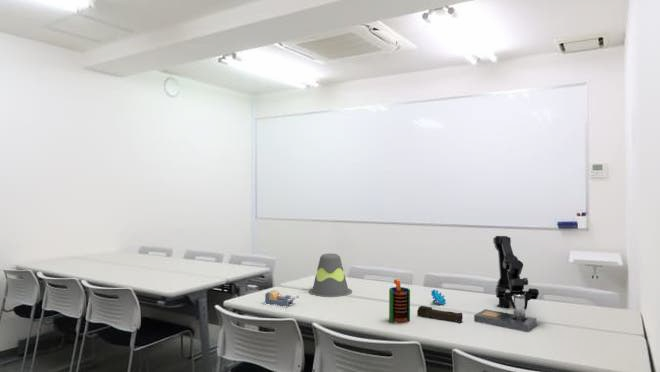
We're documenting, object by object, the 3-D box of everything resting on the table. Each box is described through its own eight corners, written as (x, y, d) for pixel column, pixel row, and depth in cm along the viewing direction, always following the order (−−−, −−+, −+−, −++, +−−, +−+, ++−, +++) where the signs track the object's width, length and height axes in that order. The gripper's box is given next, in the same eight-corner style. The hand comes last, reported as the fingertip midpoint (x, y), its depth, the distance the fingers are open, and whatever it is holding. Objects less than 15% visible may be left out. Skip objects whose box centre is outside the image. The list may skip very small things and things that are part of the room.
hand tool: (463, 321, 212) (463, 310, 212) (460, 324, 208) (460, 312, 208) (419, 314, 224) (419, 303, 224) (416, 316, 220) (416, 305, 220)
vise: (263, 304, 245) (263, 292, 245) (273, 300, 254) (273, 289, 254) (289, 308, 236) (289, 296, 236) (299, 304, 245) (299, 292, 245)
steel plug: (515, 319, 209) (515, 292, 209) (526, 321, 205) (526, 294, 205) (512, 322, 205) (511, 294, 205) (523, 324, 202) (523, 296, 202)
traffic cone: (353, 297, 260) (352, 257, 261) (307, 297, 261) (306, 257, 261) (351, 286, 288) (351, 251, 288) (309, 287, 288) (309, 251, 289)
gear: (439, 304, 237) (429, 288, 244) (432, 310, 240) (423, 295, 246) (450, 303, 244) (441, 288, 251) (443, 309, 247) (434, 294, 253)
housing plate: (485, 314, 222) (485, 308, 222) (536, 324, 205) (536, 317, 205) (474, 321, 211) (474, 314, 211) (527, 332, 195) (527, 324, 195)
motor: (395, 324, 207) (395, 283, 207) (385, 319, 215) (384, 279, 215) (412, 321, 211) (412, 280, 212) (401, 316, 219) (401, 277, 219)
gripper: (496, 270, 211) (501, 299, 200) (537, 272, 207) (544, 300, 196) (494, 283, 219) (498, 311, 208) (533, 284, 215) (539, 313, 204)
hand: (520, 308), depth 204 cm, fingers closed on steel plug, 5 cm apart
